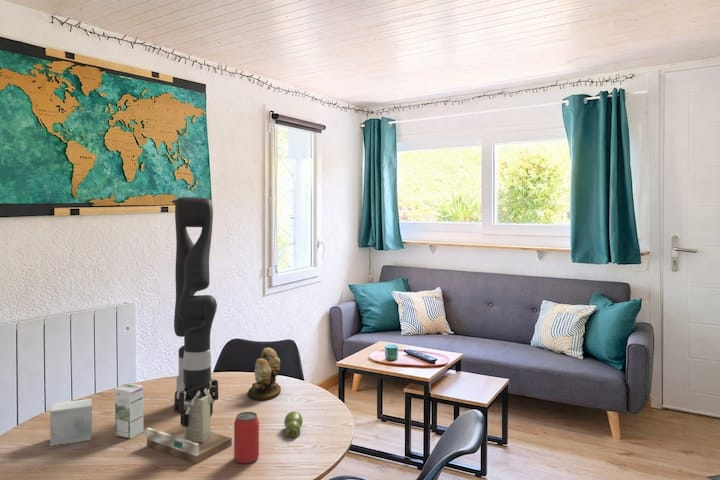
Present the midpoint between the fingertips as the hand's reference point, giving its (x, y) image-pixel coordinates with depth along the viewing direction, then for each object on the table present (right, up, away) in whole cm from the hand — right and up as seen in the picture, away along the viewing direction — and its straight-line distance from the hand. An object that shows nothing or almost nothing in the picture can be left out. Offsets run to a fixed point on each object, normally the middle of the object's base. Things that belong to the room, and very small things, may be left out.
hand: (197, 421), depth 147 cm
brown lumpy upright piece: (+11, -6, +46) cm, 47 cm away
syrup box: (-23, -7, +7) cm, 25 cm away
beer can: (+16, -8, -7) cm, 19 cm away
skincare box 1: (-38, -7, +3) cm, 38 cm away
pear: (+26, -7, +11) cm, 29 cm away
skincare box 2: (0, -5, 0) cm, 5 cm away
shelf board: (-2, -7, 0) cm, 7 cm away
